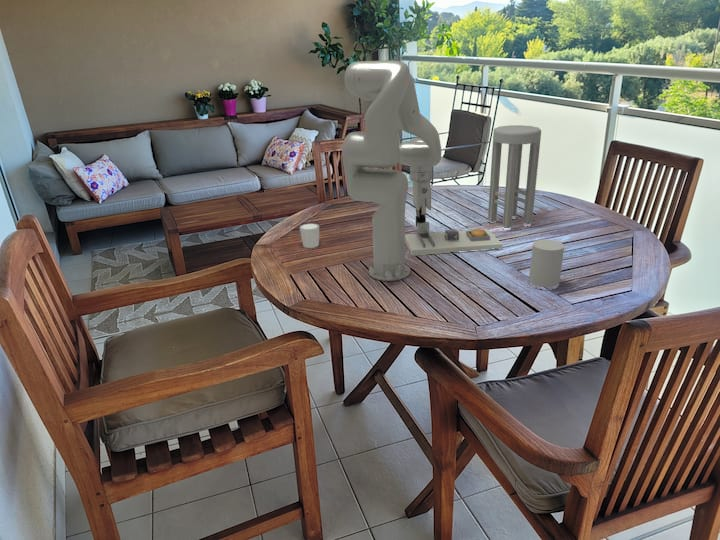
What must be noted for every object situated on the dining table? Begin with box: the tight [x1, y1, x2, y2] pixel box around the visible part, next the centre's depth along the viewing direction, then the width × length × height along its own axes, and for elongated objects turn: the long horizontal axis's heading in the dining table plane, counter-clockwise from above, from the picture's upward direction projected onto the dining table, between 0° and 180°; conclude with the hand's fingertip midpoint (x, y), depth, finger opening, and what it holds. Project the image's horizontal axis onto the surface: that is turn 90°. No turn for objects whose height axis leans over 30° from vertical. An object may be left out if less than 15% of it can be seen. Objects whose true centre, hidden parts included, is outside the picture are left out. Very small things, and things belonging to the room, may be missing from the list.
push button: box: [471, 229, 485, 237], centre depth 176 cm, size 4×4×2 cm
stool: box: [487, 124, 542, 228], centre depth 186 cm, size 16×16×35 cm
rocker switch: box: [444, 229, 459, 237], centre depth 175 cm, size 6×3×2 cm, turn 5°
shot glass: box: [299, 223, 320, 249], centre depth 180 cm, size 7×7×7 cm
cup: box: [528, 239, 565, 287], centre depth 144 cm, size 8×8×12 cm
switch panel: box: [405, 228, 503, 257], centre depth 176 cm, size 15×30×4 cm, turn 95°
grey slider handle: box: [416, 221, 430, 238], centre depth 179 cm, size 3×4×5 cm
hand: (420, 226), depth 182 cm, fingers closed
